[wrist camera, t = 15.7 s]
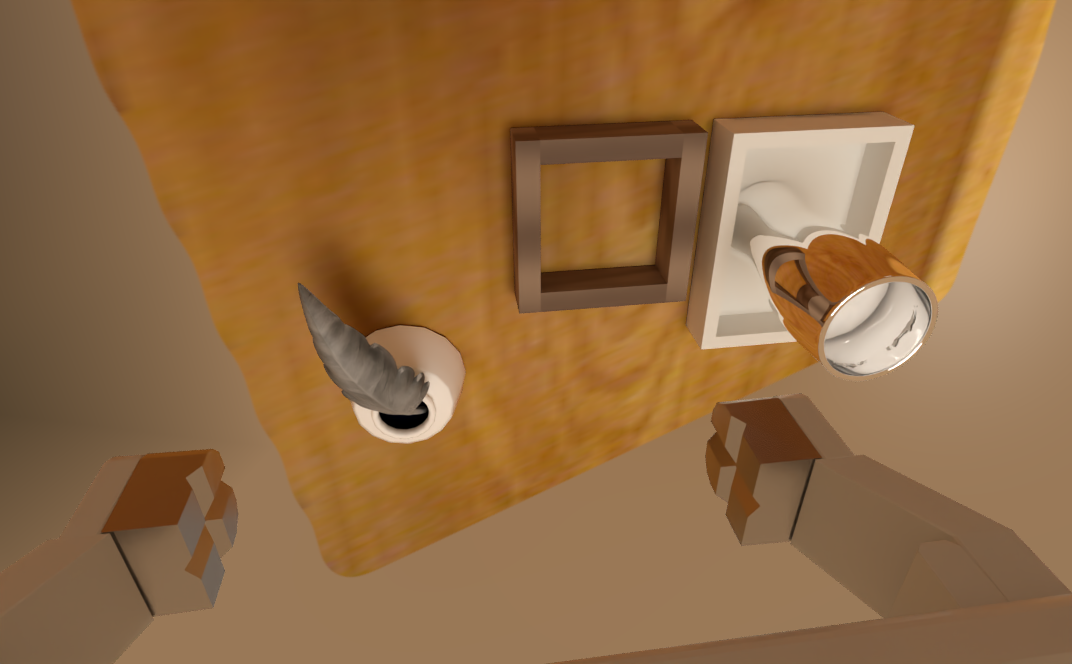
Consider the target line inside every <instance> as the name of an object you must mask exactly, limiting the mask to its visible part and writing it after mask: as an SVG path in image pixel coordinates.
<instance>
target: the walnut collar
mask: <svg viewBox="0 0 1072 664" xmlns="http://www.w3.org/2000/svg"><path fill="white" fill-rule="evenodd" d="M510 135H511V173H512V210H513V247H514V284H515V296H516V301H517V305H518V309H519V314H520V313H533V312H546V311H559V310H573V309H586V308H599V307H612V306H625V305H639V304H652V303H665V302H678V301H686V295H687V287H688V279H689V272H690V264H691V257H692V249H693V242H694V234H695V226H696V219H697V211H698V204H699V196H700V189H701V181H702V173H703V166H704V158H705V151H706V143H707V136H708V132H706V131H705V130H704V129H703V128H701V127H700V126H699V125H698V124H696V123H695V122H694V121H692V120H680V121H658V122H635V123H612V124H589V125H566V126H544V127H521V128H510ZM665 158H666V163H665V173H664V183H663V193H662V202H661V212H660V222H659V232H658V242H657V252H656V262H655V265H647V266H633V267H618V268H604V269H589V270H575V271H560V272H546V273H541V229H540V165H546V164H566V163H586V162H606V161H626V160H645V159H665Z"/></svg>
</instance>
